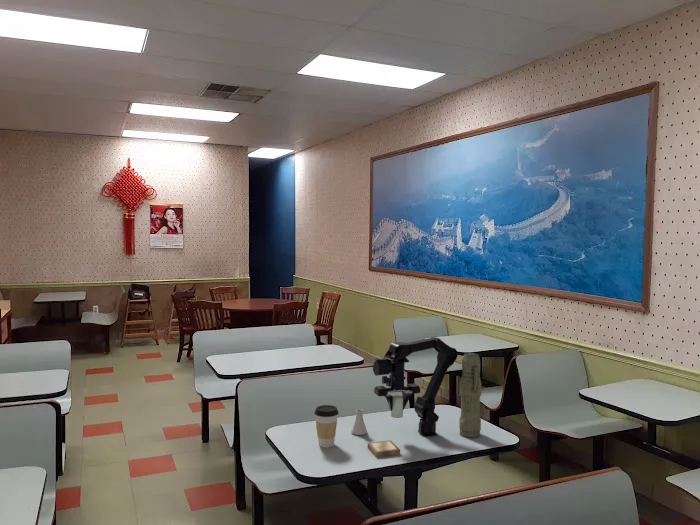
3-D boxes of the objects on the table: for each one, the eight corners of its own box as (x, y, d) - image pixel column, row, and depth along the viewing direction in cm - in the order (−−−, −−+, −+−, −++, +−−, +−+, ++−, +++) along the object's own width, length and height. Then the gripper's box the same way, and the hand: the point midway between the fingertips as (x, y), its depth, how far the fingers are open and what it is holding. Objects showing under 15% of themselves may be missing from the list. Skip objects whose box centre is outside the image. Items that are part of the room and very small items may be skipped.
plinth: (390, 445, 229) (390, 440, 229) (400, 454, 220) (400, 449, 220) (367, 447, 226) (367, 442, 226) (375, 457, 217) (375, 452, 217)
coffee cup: (341, 441, 233) (342, 406, 232) (333, 450, 223) (333, 413, 223) (319, 438, 236) (319, 403, 235) (310, 447, 227) (310, 410, 226)
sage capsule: (400, 413, 239) (400, 395, 239) (404, 417, 234) (405, 398, 234) (389, 414, 238) (389, 395, 237) (393, 418, 233) (393, 399, 232)
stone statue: (472, 428, 249) (473, 350, 247) (486, 438, 238) (487, 356, 236) (454, 430, 246) (455, 351, 244) (467, 440, 235) (468, 357, 233)
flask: (366, 436, 239) (366, 413, 238) (349, 435, 240) (349, 412, 240) (369, 430, 246) (369, 408, 245) (352, 429, 247) (352, 406, 247)
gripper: (410, 367, 245) (410, 402, 246) (370, 370, 240) (369, 406, 241) (421, 373, 235) (420, 410, 236) (378, 376, 229) (378, 414, 230)
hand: (397, 410), depth 236 cm, fingers closed on sage capsule, 5 cm apart
